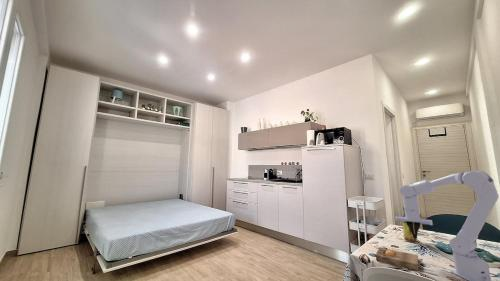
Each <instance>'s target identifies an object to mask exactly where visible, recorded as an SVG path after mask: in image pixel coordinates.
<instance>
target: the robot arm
mask: <svg viewBox="0 0 500 281" xmlns="http://www.w3.org/2000/svg"><path fill="white" fill-rule="evenodd" d="M450 184H451V185H452V184H461V185H463V184H465V185H466V186H468V187H469V188H470V189H472V190H473V192H474V193H475V195H476V196H477V199H475V202H474V204H473V206H472V208H471V210H470V212H469V213H468V216H467V217H466V220H465V221H464V223H463V225H462V226H461V229H460V230H459V232H458V233H457V234H456V235H455V237H453V238H451V239H450V240H449V247H450V248H451V250H452V255H453V256H452V257H453V262H454V268H455V269H454V270H453V269H452V270H449V272H450V273H452V274H454V275H456V276H458V277H460V278H461V279H464V280H466V281H493V279H491V273H490V267H489V265H488V262H487V261H486V260H484V259H482V258H481V257H479V256H478V253H477V251H475V250H476V249H477V247H478V242H477V240H478V238H479V234H480V232H481V230H482V229H483V227H484V225H485V223H486V221H487V219H488V218H489V216H490V215H491V213H492V211H493V209H494V207H495V205H496V203H497V202H498V200H499V193H498V191H497V188H496V185H495V183H494V179H493V178H492V177H491V176H490V175H489V173H487V172H485V171H483V170H468V171H463V172H457V173H452V174H448V175H447V176H446V175H445V176H443V177H439V178H437V179H434V180H428V179H423V178H422V179H419V181H417V182H410V183H409V185H402V186H401V187H400V188H399V193H400V194H401V196H402V199H403V200H402V202H403V207H404V209H403V211H404V210H405V217H403V216H395V217H394V220H395V222H401V223H402V222H407V226H408V227H409V229H410V230H411V232H412V235H413V238H414V239H418V233H419V230H420V228H421V224H422V225H429V226H434V224H433V220H432V219H425V218H424V219H423V218H421V217H420V209H419V202H418V196H420V195H424V194H427V193H432V192H434V191H435V189H436V188H438V187H443V186H447V185H450ZM413 223H414V228H413ZM414 229H415V233H414Z"/></svg>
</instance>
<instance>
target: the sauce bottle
mask: <svg viewBox="0 0 500 281" xmlns="http://www.w3.org/2000/svg"><path fill="white" fill-rule="evenodd" d="M402 209H403V215H402V217H405V210H404V206H403V207H402ZM401 223H402V230H403V231H402V233H403V238H404V240H405V241H407V242H412V243H416V242H417V239H418V238H417V239H414V238H413V235H412V232H411V230H410V229H409V227H408V226H407V222H402V221H401ZM413 228H414V223H413ZM414 233H415V229H414Z"/></svg>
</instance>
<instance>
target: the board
mask: <svg viewBox="0 0 500 281" xmlns="http://www.w3.org/2000/svg"><path fill="white" fill-rule="evenodd" d="M387 250H390V251H392V252H393V253H394V254H395V256H389V255H385V252H386V251H387ZM375 260H378V261H377V262H380V261H382V262H381V263H385V262H386V264H390V265H393V266H398V267H402V266H403V267H402V268H406V267H408V268H407V269H410V268H412V269H411V270H415V271H419V256H418V254H415V253H409V252H404V251H399V250H394V249H389V248H383V247H379V248H378V249H377V252H376V253H375Z"/></svg>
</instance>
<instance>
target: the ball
mask: <svg viewBox="0 0 500 281" xmlns="http://www.w3.org/2000/svg"><path fill="white" fill-rule="evenodd" d="M390 250H391V249H390ZM390 250H387V251H386V252H385V255H389V256H395V254H394V253H393V252H392V251H390Z"/></svg>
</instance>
